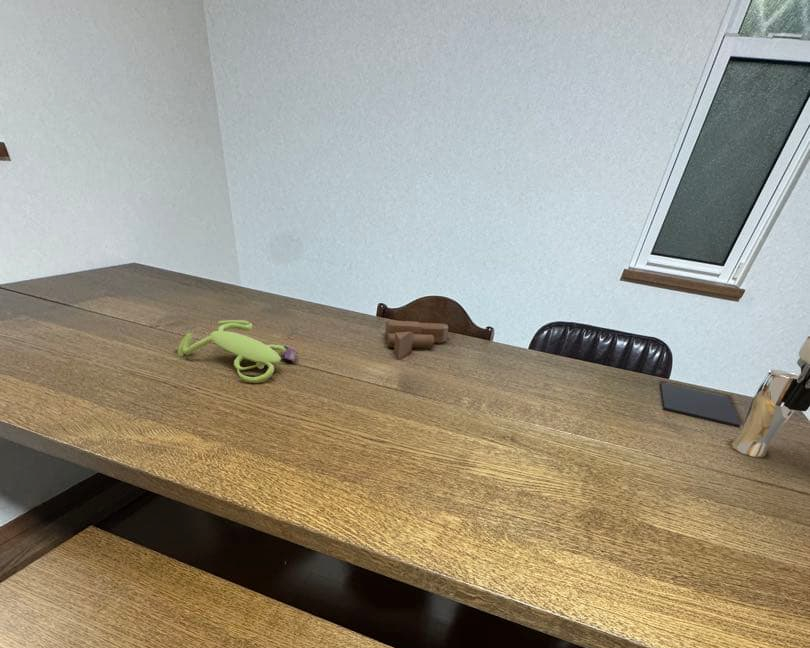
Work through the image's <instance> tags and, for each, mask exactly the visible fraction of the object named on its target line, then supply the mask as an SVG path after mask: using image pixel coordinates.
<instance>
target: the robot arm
mask: <svg viewBox="0 0 810 648" xmlns="http://www.w3.org/2000/svg"><path fill="white" fill-rule="evenodd" d="M798 357H799V358H798V360H797V361H796V364H797V365H798V367H799V368H800V373H799V374H800V376H799V377H798V379H797V382H798V384H797V385H796V387H795V388H794V390H793V391H792V393H791V394H790V396H789V397H788V399H787V400H786V402H785V403H784V406H785V407H787V408H788V409H790V410H795V411H798V412H806V411H808V409H810V333H809V334H808V336H807V337H806V339H805V340H804V342H803V343H802V345H801V347H800V349H799V351H798Z"/></svg>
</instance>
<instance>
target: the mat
mask: <svg viewBox="0 0 810 648" xmlns="http://www.w3.org/2000/svg"><path fill="white" fill-rule="evenodd" d="M659 387H660V394H661V402H662V403H661V404H662V410H663V411H668V412H670V413H671V412H672V413H676V414H680V415H684V416H688V417H692V418H697V419H701V420H704V421H705V420H706V421H710V422H714V423H719V424H722V425H726V426H731V427H737V428H740V427H741V423H740V420H739V418H738V416H737V413H736V411H735V409H734V406H733V404H732V403H731V400H730V398H729V396H724V395H720V394H716V393H711V392H707V391H701V390H697V389H692V388H688V387H683V386H679V385H675V384H670V383H665V382H660V384H659Z"/></svg>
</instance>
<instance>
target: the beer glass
mask: <svg viewBox="0 0 810 648" xmlns="http://www.w3.org/2000/svg"><path fill="white" fill-rule="evenodd" d="M800 374H801V373H796V372H790V371H785V370H779V369H770V370H768V373H767V374H766V376H765V377H764V379H763V381H762V382H761V383H760V385H759V386H758V389H757V390H756V392H755V394H754V396H753V398H752V400H751V403H750V404H749V408H748V410H747V414H746V417H745V420H744V424H743V426H742V428H741V430H740V432H739V433H738V435H737V436H736V438H735V439H734V440H733V441H732V442H731V447H732V448H733V449H734V450H736V451H737V452H739V453H741V454H743V455H747V456H748V457H749V456H750V457H754V458H765V457H766V455H767V452H768V449H769V446H770V444H771V442H772V440H773V439H774V437H775V436H776V435H777V433H778V432H779V431H780V429H782V427H783V426H784V425H785V424H786V423H787V421H789V419H790V418H791V416H792V415H793V414H794V413H795V412H796V410H790V409H788V408H787V407H785V406H784V403H785V402H786V400H787V399H788V397H789V396H790V394H791V393H792V391H793V390H794V388H795V387H796V385H797V384H798V382H797V379H798V377H799V376H800Z"/></svg>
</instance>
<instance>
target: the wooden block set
mask: <svg viewBox="0 0 810 648" xmlns="http://www.w3.org/2000/svg"><path fill="white" fill-rule="evenodd" d="M448 333H449V326H448V324H447V323H433V322H420V321H411V320H410V321H409V320H391V319H389V320H386V322H385V334H384V337H385V340H386V346H387V347H388V348H393V354H394V355H395V358H396V359H397V360H398V361H399V360H401V359H402V358H405V357H407V356H408V355H411V354H413V348H414V349H416V348H417V349H432V348H434V344H442V343H444V342H446V341H447V339H448Z"/></svg>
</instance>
